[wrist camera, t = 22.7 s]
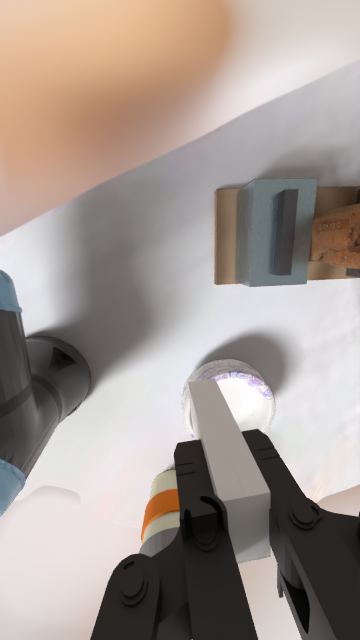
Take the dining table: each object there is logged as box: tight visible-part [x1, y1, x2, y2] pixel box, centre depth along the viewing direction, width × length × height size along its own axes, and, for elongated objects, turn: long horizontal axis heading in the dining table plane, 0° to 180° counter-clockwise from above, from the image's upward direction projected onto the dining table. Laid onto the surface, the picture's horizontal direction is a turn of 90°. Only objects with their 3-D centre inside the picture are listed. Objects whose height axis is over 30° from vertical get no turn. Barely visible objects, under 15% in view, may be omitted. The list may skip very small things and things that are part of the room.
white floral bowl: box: [181, 359, 275, 440], centre depth 43 cm, size 15×15×8 cm
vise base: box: [215, 186, 360, 285], centre depth 36 cm, size 25×14×8 cm, turn 92°
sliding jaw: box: [235, 178, 318, 287], centre depth 34 cm, size 8×13×8 cm, turn 2°
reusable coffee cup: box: [139, 470, 180, 557], centre depth 45 cm, size 13×13×15 cm
